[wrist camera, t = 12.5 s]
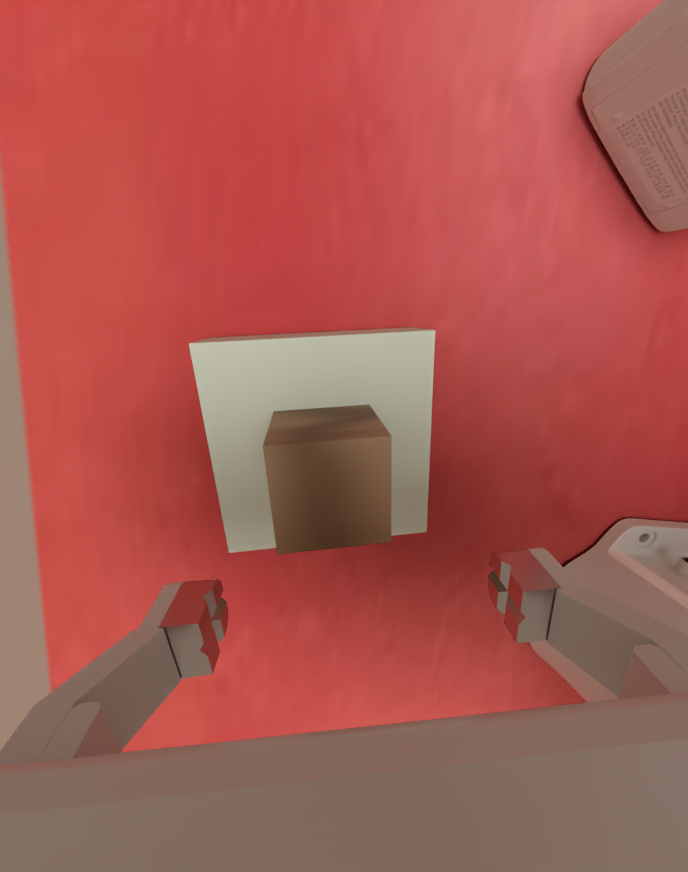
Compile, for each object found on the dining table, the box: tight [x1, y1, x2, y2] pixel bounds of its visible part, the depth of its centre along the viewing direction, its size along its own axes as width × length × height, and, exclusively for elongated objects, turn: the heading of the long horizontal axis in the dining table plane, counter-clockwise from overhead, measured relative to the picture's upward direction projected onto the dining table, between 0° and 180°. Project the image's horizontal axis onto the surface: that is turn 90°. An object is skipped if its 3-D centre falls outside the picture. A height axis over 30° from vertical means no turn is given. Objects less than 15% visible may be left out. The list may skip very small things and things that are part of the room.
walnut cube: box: [263, 405, 391, 554], centre depth 17 cm, size 5×5×5 cm
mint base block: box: [189, 327, 435, 553], centre depth 21 cm, size 12×12×4 cm
